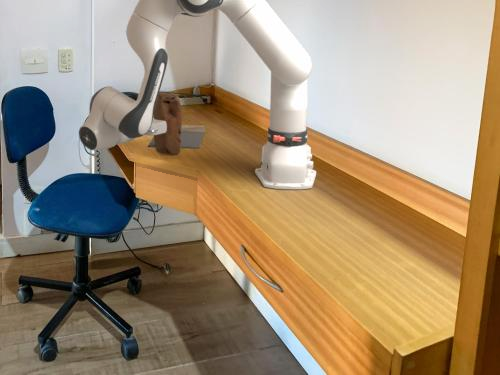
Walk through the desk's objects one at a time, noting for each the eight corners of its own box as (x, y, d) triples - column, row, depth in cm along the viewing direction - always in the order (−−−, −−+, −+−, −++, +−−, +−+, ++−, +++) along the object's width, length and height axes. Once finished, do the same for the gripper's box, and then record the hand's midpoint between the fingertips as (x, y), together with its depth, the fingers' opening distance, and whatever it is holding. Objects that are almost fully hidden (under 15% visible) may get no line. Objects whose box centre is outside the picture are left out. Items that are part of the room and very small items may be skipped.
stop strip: (204, 132, 234) (204, 126, 233) (157, 131, 234) (157, 125, 233) (204, 131, 236) (204, 125, 235) (158, 130, 236) (158, 124, 235)
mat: (198, 148, 211) (198, 147, 211) (147, 147, 211) (147, 146, 211) (204, 132, 234) (204, 131, 234) (157, 131, 234) (157, 130, 234)
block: (152, 149, 209) (151, 91, 202) (172, 147, 212) (172, 90, 206) (163, 157, 200) (162, 97, 193) (184, 154, 203) (184, 95, 197)
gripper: (150, 121, 177) (177, 114, 188) (97, 114, 186) (125, 107, 197) (151, 142, 179) (177, 133, 190) (98, 134, 188) (126, 125, 199)
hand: (151, 120), depth 194 cm, fingers closed
